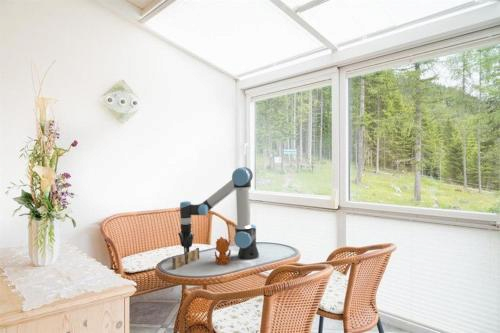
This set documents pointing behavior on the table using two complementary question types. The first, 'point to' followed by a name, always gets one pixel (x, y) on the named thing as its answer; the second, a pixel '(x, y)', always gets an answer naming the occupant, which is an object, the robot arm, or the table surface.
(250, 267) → the table surface
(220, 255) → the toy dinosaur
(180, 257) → the fence panel fixed
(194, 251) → the fence panel hinged
